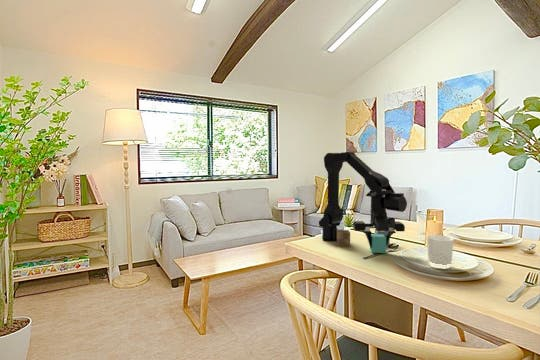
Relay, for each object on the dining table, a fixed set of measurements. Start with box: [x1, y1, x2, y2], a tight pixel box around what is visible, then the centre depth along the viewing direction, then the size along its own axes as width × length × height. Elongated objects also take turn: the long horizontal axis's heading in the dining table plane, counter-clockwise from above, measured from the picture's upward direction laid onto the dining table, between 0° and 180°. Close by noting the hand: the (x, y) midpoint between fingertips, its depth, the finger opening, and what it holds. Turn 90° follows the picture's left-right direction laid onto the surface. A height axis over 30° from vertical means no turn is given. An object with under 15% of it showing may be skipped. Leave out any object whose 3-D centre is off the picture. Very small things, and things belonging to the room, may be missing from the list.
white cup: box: [426, 234, 455, 265], centre depth 107 cm, size 8×8×10 cm
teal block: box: [369, 233, 387, 254], centre depth 123 cm, size 5×5×6 cm
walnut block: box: [336, 229, 351, 248], centre depth 134 cm, size 5×5×6 cm
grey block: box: [374, 228, 391, 247], centre depth 136 cm, size 5×5×6 cm
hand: (377, 247), depth 123 cm, fingers closed on teal block, 5 cm apart
